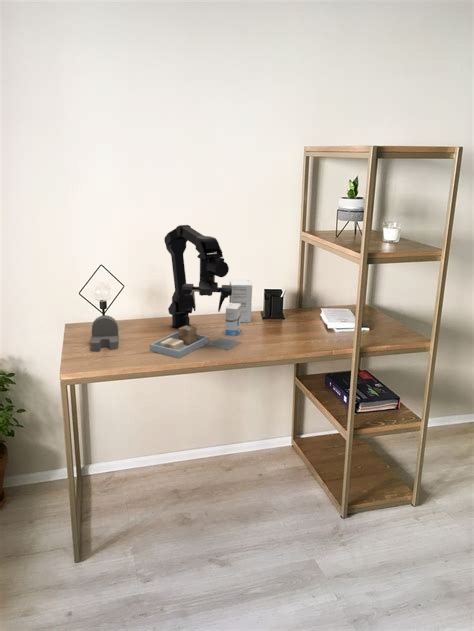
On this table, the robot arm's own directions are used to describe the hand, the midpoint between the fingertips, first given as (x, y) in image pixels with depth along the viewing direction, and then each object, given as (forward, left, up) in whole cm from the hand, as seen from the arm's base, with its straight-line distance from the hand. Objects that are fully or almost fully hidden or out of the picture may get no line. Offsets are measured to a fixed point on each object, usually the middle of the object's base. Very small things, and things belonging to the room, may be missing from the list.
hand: (206, 311), depth 214 cm
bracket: (-32, -22, -13) cm, 41 cm away
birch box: (-5, -16, -12) cm, 20 cm away
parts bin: (-5, -11, -13) cm, 17 cm away
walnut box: (-5, -6, -12) cm, 14 cm away
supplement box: (-4, +33, -13) cm, 36 cm away
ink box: (+3, +15, -13) cm, 20 cm away
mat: (+7, +1, -13) cm, 14 cm away
